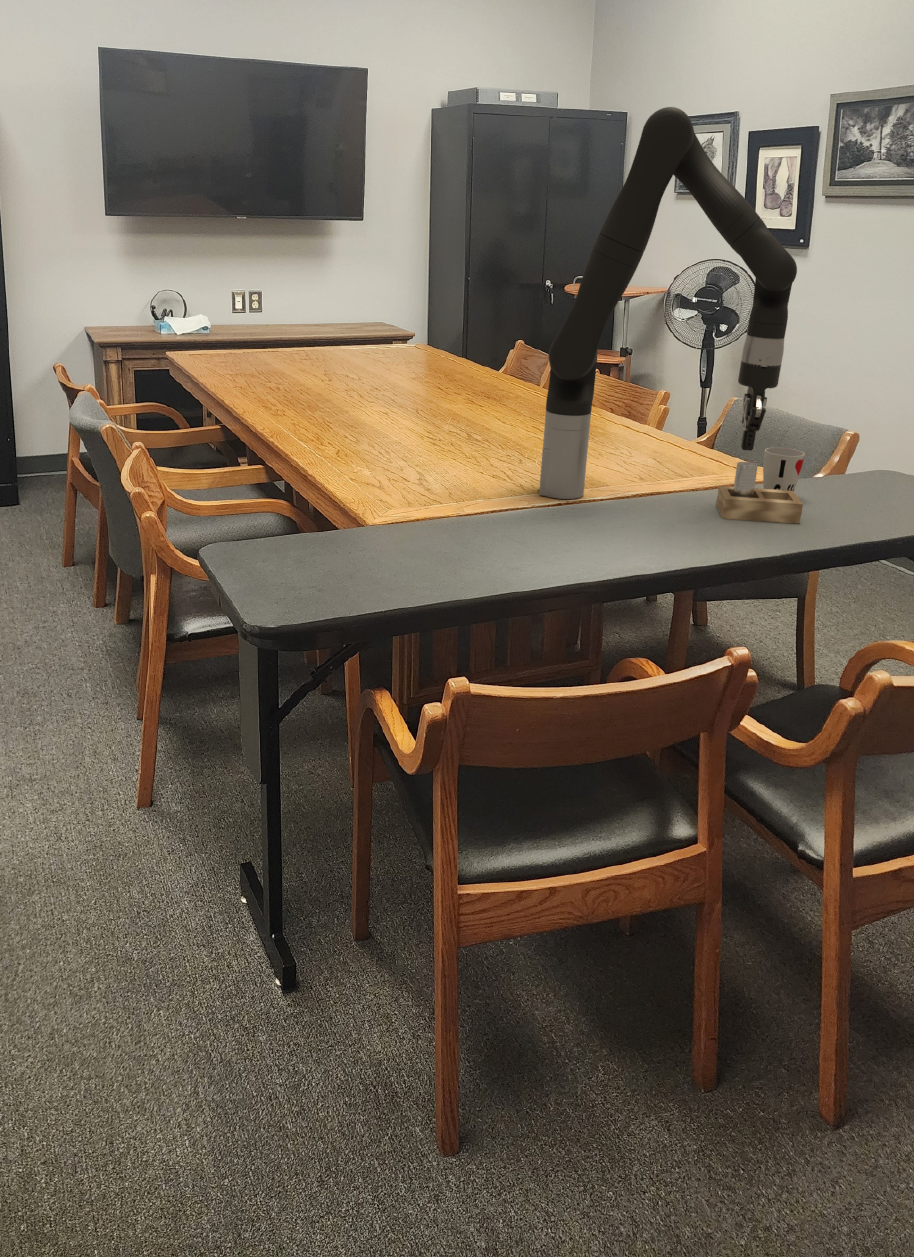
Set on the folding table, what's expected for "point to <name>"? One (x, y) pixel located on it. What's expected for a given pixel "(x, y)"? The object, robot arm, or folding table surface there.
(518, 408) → the folding table surface
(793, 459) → the cup
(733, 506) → the frame
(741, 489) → the grey rounded cylinder
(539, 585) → the folding table surface
